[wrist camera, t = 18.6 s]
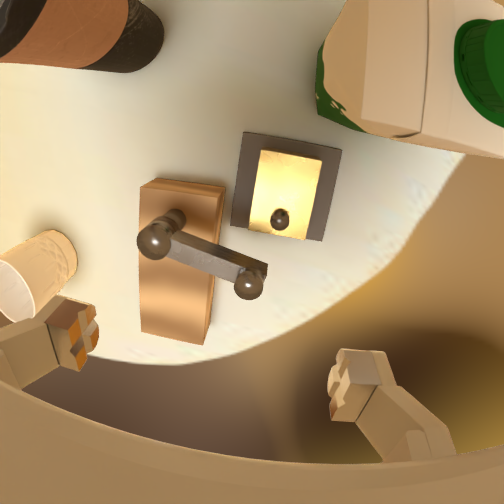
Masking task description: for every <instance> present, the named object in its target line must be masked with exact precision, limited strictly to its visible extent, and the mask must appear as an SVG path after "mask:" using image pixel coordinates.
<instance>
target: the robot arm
mask: <svg viewBox="0 0 504 504" xmlns="http://www.w3.org/2000/svg"><path fill="white" fill-rule="evenodd" d="M95 316H96V310H95V306H93V305H92V304H89V303H86V302H82V301H79V300H76V299H72V298H68V297H65V296H62V295H55V296H54V297H53V298H52V299H51V300H50V301H49V302H48V303H47V304H46V305H45V306H44V307H43V308H42V309H41V310H40V311H39V312H38V313H37V314H36V315H35V316H34V317H33V318H32V319H31V318H27V319H24V320H21V321H18V322H16V323H13V324H10V325H7V326H4V327H2V328H0V504H504V445H500V446H496V447H492V448H487V449H483V450H479V451H474V452H469V453H464V454H458V455H457V454H456V451H455V448H454V445H453V442H452V439H451V436H450V433H449V430H448V428H447V426H445V424H443V423H442V422H441V421H440V420H439V419H438V418H436V417H435V416H434V415H433V414H432V413H431V412H430V411H428V410H427V409H426V408H425V407H424V406H423V405H421V404H420V403H419V402H418V401H417V400H416V399H415V398H414V397H412V396H411V395H410V394H409V393H408V392H407V391H406V390H404V389H403V388H402V387H401V386H397V385H396V382H395V379H394V376H393V373H392V371H391V368H390V365H389V362H388V359H387V356H386V354H385V352H383V351H363V350H352V349H340V350H339V352H338V354H337V356H336V361H337V364H336V365H335V366H333V367H332V369H331V371H330V374H329V379H328V395H329V396H330V397H331V398H332V400H331V402H330V404H329V406H330V414H331V420H333V421H348V422H356V424H357V426H358V427H359V428H360V430H361V431H362V432H363V434H364V435H365V436H366V437H367V439H368V440H369V441H370V443H371V444H372V445H373V447H374V448H375V449H376V451H377V452H378V453H379V455H380V456H381V457H382V458H383V461H382V462H381V463H375V464H309V463H292V462H279V461H268V460H258V459H250V458H243V457H235V456H228V455H222V454H217V453H211V452H205V451H200V450H195V449H190V448H186V447H181V446H176V445H172V444H168V443H164V442H160V441H156V440H152V439H149V438H145V437H141V436H138V435H134V434H131V433H128V432H124V431H121V430H118V429H115V428H112V427H109V426H106V425H103V424H100V423H97V422H94V421H92V420H89V419H86V418H83V417H80V416H78V415H75V414H73V413H70V412H68V411H65V410H63V409H61V408H58V407H56V406H53V405H51V404H49V403H47V402H44V401H42V400H40V399H38V398H35V397H33V396H31V395H29V394H27V393H25V392H23V391H21V389H22V388H23V387H25V386H27V385H29V384H30V383H32V382H34V381H35V380H37V379H39V378H40V377H42V376H44V375H45V374H47V373H49V372H50V371H52V370H54V369H55V368H57V367H59V365H60V366H63V367H66V368H69V369H73V370H75V371H80V370H81V368H82V367H83V365H84V363H85V362H86V360H87V353H89V352H91V351H93V350H94V348H95V347H96V345H97V342H98V338H99V327H98V324H97V323H96V322H95V320H94V317H95Z"/></svg>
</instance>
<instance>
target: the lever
mask: <svg viewBox="0 0 504 504" xmlns="http://www.w3.org/2000/svg"><path fill="white" fill-rule="evenodd" d="M137 246H138V249H139V251H140V252H141V253H142V254H143V255H144V256H145V257H146V258H148V259H151V260H160V259H163V258H164V257H165V256H166V257H168V258H171V259H173V260H176V261H178V262H181V263H183V264H186V265H188V266H191V267H193V268H196V269H199V270H201V271H204V272H206V273H209V274H211V275H214V276H217V277H219V278H222V279H224V280H227V281H230V282H232V283H235V284H234V290H235V292H236V294H237V295H238V296H239V297H240V298H242V299H245V300H253V299H256V298H258V297H259V296H260V295H261V293H262V291H263V283H264V281H265V278H266V276H267V267H268V264H267V263H264V262H262V261H259V260H256V259H254V258H251V257H249V256H246V255H243V254H241V253H238V252H236V251H233V250H230V249H228V248H225V247H223V246H220V245H217V244H215V243H212V242H210V241H207V240H205V239H202V238H199V237H197V236H194V235H192V234H189V233H186V232H184V231H181V230H179V227H178V225H177V223H176V222H175V221H174V220H173V219H172V218H170V217H167V216H158V217H156V218H155V219H153V220H152V221H151V222H150V223H149V224H148V225H147V226H146V227H145V228H143V229H142V230H141V231H140V232H139V234H138V236H137Z"/></svg>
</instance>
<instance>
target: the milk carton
mask: <svg viewBox="0 0 504 504" xmlns="http://www.w3.org/2000/svg"><path fill="white" fill-rule="evenodd" d="M315 94H316V102H317V111H318V115H321V116H323V117H325V118H328V119H330V120H332V121H334V122H337V123H339V124H341V125H343V126H346V127H348V128H350V129H353V130H357V131H360V132H365V133H369V134H373V135H377V136H381V137H385V138H390V139H392V140H396V141H401V142H406V143H411V144H416V145H421V146H426V147H431V148H437V149H443V150H449V151H454V152H459V153H466V154H473V155H480V156H487V157H494V158H501V159H504V7H503V6H501V5H500V4H498V3H496V2H494V1H492V0H347V1H346V3H345V5H344V7H343V9H342V11H341V13H340V15H339V17H338V18H337V20H336V22H335V23H334V25H333V27H332V28H331V30H330V32H329V34H328V35H327V37H326V39H325V40H324V42H323V44H322V46H321V47H320V49H319V51H318V58H317V70H316V83H315Z"/></svg>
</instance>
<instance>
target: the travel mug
mask: <svg viewBox="0 0 504 504" xmlns="http://www.w3.org/2000/svg"><path fill="white" fill-rule="evenodd" d="M163 37H164V30H163V25H162V23H161V21H160V19H159V18H158V16H157V15H156V14H154V13H153V12H152V11H151V10H150V9H149V8H147V7H146V6H145V5H144V4H142V3H141V2H140V1H138V0H0V63H20V64H34V65H45V66H55V67H63V68H73V69H86V70H97V71H108V72H118V73H129V72H133V71H136V70H139V69H141V68H143V67H144V66H146V65H147V64H148V63H150V62H151V61H152V60H153V59H154V57H155V56H156V55H157V53H158V52H159V50H160V48H161V45H162V42H163Z"/></svg>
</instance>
